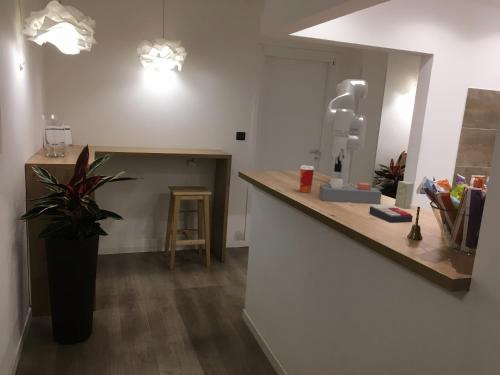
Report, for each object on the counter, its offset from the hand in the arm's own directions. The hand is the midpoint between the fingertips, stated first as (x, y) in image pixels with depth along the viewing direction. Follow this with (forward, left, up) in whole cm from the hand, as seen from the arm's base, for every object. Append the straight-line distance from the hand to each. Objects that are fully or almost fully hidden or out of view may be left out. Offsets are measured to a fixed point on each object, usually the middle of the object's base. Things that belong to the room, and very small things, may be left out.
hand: (337, 171), depth 206 cm
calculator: (+32, +17, -15) cm, 39 cm away
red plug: (-1, +14, -12) cm, 19 cm away
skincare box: (+8, +31, -14) cm, 35 cm away
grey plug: (-1, 0, -11) cm, 11 cm away
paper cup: (-15, -13, -14) cm, 25 cm away
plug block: (0, +7, -14) cm, 16 cm away
